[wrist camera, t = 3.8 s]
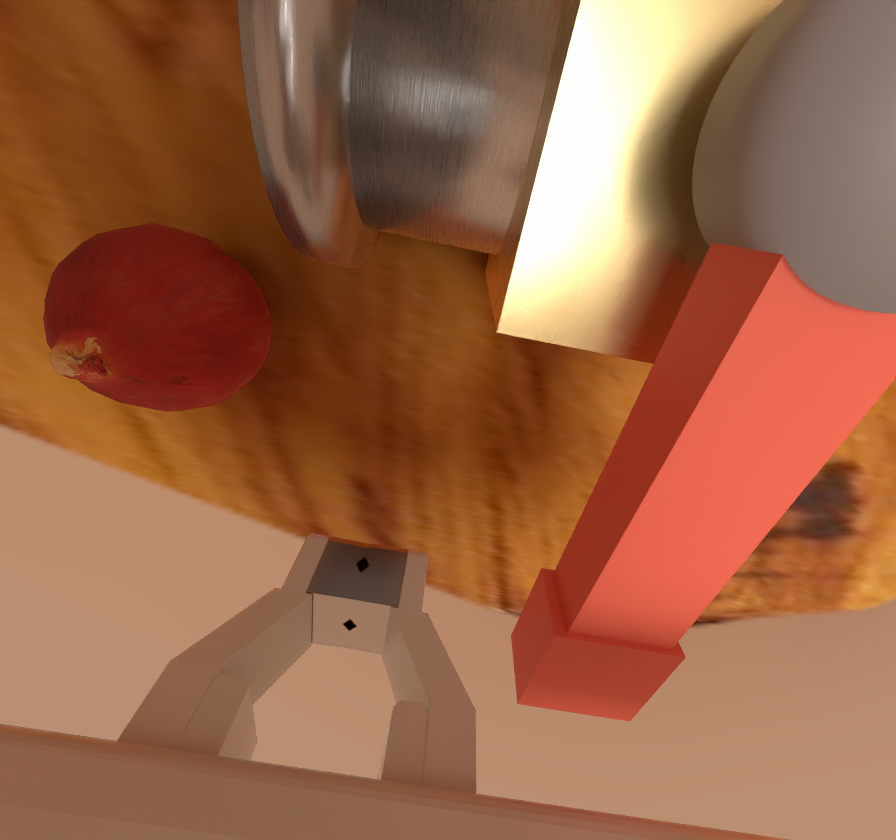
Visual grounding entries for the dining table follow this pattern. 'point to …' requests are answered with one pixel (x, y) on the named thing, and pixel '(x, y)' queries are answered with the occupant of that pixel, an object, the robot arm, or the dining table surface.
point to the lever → (738, 358)
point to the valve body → (500, 144)
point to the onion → (156, 319)
